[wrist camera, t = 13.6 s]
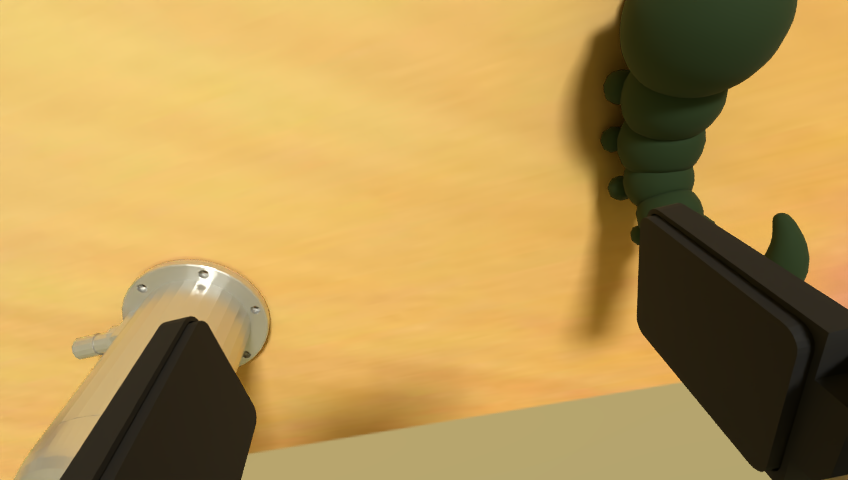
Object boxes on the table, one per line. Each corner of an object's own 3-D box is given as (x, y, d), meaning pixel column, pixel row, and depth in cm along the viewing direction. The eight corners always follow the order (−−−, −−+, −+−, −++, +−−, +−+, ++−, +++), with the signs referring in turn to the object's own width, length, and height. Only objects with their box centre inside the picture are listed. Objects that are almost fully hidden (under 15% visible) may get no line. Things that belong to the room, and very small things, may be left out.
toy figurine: (666, 196, 43) (733, -135, 30) (839, 337, 28) (1158, -228, 14) (571, 212, 43) (595, -115, 29) (692, 364, 27) (867, -186, 14)
